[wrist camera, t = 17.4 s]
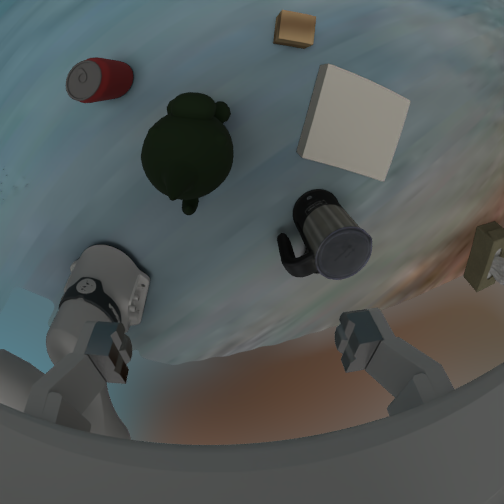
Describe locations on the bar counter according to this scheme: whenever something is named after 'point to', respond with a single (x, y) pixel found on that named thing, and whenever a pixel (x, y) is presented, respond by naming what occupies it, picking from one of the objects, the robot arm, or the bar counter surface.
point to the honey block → (294, 29)
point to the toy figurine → (189, 149)
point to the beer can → (98, 80)
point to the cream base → (352, 123)
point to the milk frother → (325, 239)
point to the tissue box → (486, 257)
